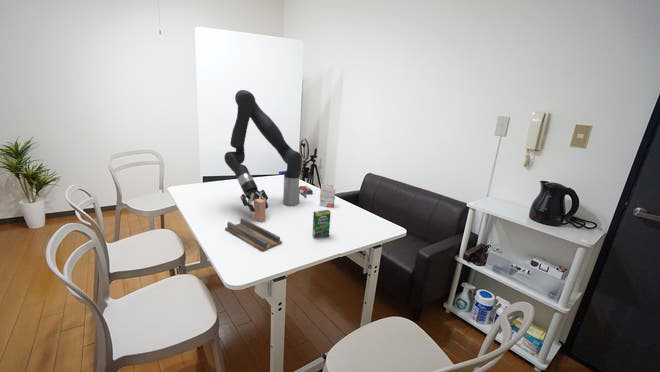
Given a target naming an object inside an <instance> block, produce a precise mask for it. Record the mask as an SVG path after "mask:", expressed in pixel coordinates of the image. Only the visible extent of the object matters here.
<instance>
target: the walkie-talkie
mask: <svg viewBox="0 0 660 372" xmlns="http://www.w3.org/2000/svg"><path fill="white" fill-rule="evenodd" d="M299 189H300V195H302V196H303V197H304V198H307V197H308V195H313V190H312V189H311V188H310V187H309V186H308V185H299Z"/></svg>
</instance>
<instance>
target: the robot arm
mask: <svg viewBox="0 0 660 372" xmlns="http://www.w3.org/2000/svg"><path fill="white" fill-rule="evenodd" d="M234 100H235V104H237V114H236V120H235V123H234V125H233V129H232V131H231V137H230V146H231V147H232V148H234V149H235V151H227V152H226V153H225V154H224V157H223V158H224V161H225V164H226V165H227V166H228V167H229V169H230V170H231V171H232V172H233V173H234V174H235V177H236V179H237V180H238V184H239V186H240V188H241V190H242V192H243V193H242V194H241V195H240V196H239V197H240V200H241V202H242V204H243V206H244V207H248V208H249V210H250V212H251V213H253V214H254V212H255V209H254V204H252V203H253V202H254V200H255V199H259V198H260V199H262V200H264V201H266V207H265V210H266V209H268V208H269V204H268V202H267V201H268V200H269V196H268V195H267V193H266V191H265V189H262V190H259V189H258V185H257V184H256V181H255V179H254V178H253V176H252V175H251V173H250V171H249V169H248V167H247V166H246V165H245V164H243V163H244V161H245V159H246V157H245V156H246V155H245V141H246V135H247V132H248V131H247V130H248V127H249V126H248V125H249V123H250V122H249V121H250V120H251V121H252V122H253V123H254V125H255V127H256V128H257V129H258V131H259V132H260V134H261V135H262V136H263V137H264V138H265V139H266V141H267V142H268V143H269V144H270V145H271V146H272V147H273V148H274V149H275V150H276V151H277V154H279V156H280V158H281V159H282V160H283V162H284V163H285V164H286V165H287V166H286V170H285V171H284V172H283V196H282V204H283V205H285V206H287V207H291V206H294V207H295V206H298V204H300V195H301V194H300V189H299V187H300V175H301V173H302V165H303V164H302V163H303V157H302V154H301V153H300V151H299V152H298V151H296V150H294V149H293V148H292V147H291V146H290V145H289V144H288V143H287V142H286V140H285V138H284V136H283V133H282V132H281V130H280V129H279V126H277V124H276V123H275V122H274V121H273V120H272V119H271V117H270V116H269V115H267V114H266V113H265V112H264V111H263V110H262V109H261V107H260V106H259V104H258V103H257V102H256V98H255V96H254V94H253V93H252V92H250V91H249V90H247V89H246V90H245V89H241V90H238V91H237V92H236V93H235V97H234Z"/></svg>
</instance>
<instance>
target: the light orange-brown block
mask: <svg viewBox="0 0 660 372" xmlns="http://www.w3.org/2000/svg"><path fill="white" fill-rule="evenodd" d="M266 202H267V201H264V200H262V199H260V197H259V199H255V200H254V201H253V207H254V209H255V212H253V220H255V221H256V222H258V223H263V222H265V221H266V209H265V207H266Z"/></svg>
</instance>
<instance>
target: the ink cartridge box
mask: <svg viewBox="0 0 660 372" xmlns="http://www.w3.org/2000/svg"><path fill="white" fill-rule="evenodd" d="M335 199H336V187H335V185H334V184H328V183H321V185H320V194H319V207H325V208H328V209H329V208H330V209H332V208H334V206H335V201H336V200H335Z"/></svg>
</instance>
